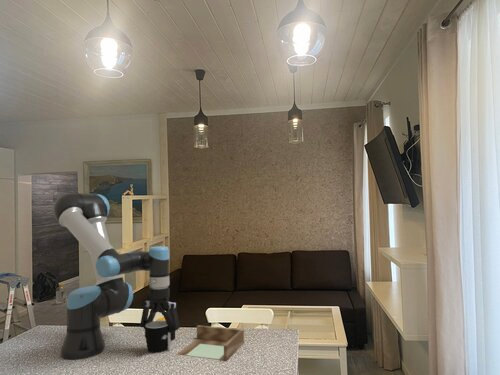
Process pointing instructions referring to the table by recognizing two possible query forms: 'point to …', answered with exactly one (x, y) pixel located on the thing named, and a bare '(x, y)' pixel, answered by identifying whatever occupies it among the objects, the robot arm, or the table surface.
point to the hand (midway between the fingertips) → (160, 347)
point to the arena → (217, 340)
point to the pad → (207, 351)
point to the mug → (157, 336)
